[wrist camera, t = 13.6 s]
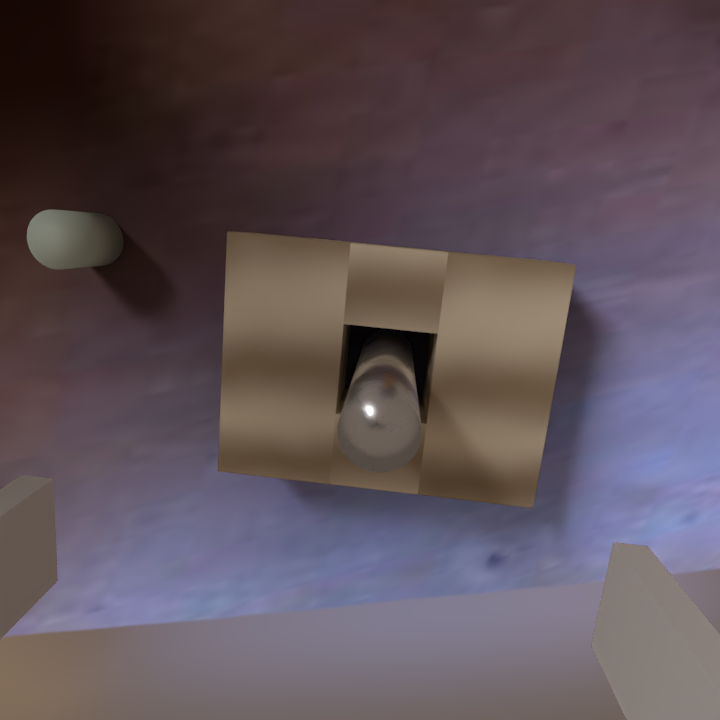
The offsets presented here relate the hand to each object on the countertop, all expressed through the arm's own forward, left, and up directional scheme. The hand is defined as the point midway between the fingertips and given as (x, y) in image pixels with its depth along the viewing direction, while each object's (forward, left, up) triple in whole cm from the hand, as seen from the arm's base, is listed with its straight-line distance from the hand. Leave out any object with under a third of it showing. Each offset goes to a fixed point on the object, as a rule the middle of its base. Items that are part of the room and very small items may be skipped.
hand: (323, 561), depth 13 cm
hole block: (+1, +1, -27) cm, 27 cm away
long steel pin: (+1, +1, -27) cm, 27 cm away
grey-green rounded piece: (-5, -20, -27) cm, 34 cm away
